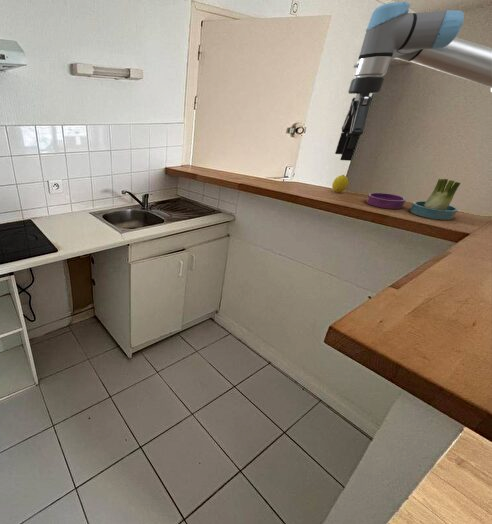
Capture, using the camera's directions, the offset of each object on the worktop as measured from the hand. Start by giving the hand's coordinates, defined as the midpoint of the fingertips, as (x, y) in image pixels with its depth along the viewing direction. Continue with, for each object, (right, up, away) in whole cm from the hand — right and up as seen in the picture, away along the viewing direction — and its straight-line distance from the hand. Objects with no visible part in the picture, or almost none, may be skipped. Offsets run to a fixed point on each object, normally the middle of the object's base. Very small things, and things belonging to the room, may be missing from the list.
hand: (342, 157), depth 89 cm
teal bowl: (+37, -17, +9) cm, 42 cm away
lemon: (+23, -3, +35) cm, 42 cm away
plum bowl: (+30, -12, +19) cm, 37 cm away
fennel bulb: (+37, -17, +9) cm, 42 cm away
